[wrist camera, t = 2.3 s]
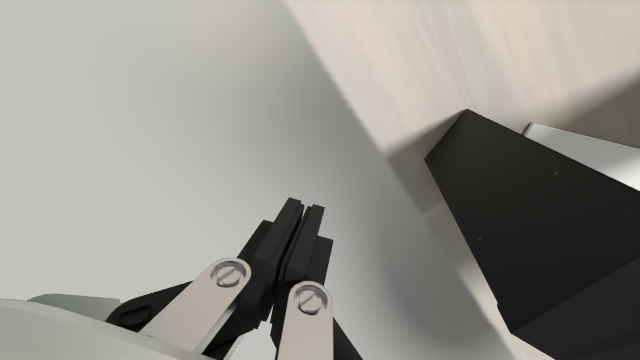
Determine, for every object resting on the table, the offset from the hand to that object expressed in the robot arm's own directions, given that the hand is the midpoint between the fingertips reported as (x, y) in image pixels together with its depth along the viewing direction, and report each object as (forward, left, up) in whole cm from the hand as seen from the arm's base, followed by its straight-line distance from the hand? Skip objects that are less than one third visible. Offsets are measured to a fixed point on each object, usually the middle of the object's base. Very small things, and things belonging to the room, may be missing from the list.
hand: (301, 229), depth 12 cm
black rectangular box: (-16, 0, -25) cm, 30 cm away
